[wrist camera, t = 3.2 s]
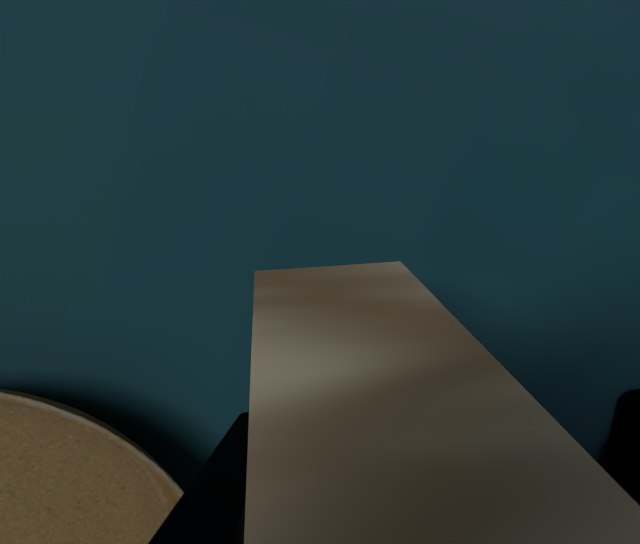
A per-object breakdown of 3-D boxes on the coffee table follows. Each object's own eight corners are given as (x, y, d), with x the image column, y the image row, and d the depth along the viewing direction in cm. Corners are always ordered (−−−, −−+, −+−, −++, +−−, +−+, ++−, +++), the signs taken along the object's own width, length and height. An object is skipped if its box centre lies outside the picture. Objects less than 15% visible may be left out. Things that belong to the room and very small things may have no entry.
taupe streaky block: (400, 261, 9) (1048, 924, 2) (393, 454, 11) (697, 1224, 3) (254, 271, 9) (220, 1157, 1) (270, 469, 10) (296, 1357, 3)
